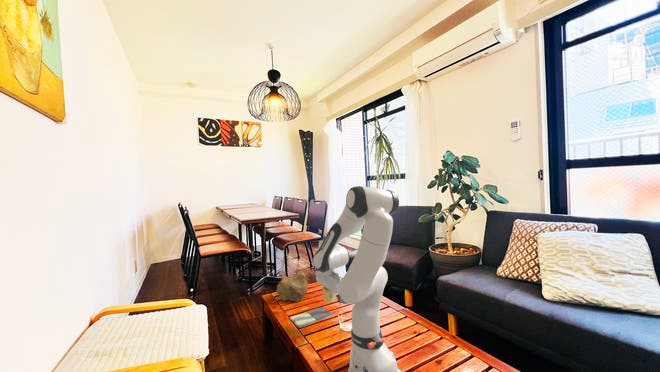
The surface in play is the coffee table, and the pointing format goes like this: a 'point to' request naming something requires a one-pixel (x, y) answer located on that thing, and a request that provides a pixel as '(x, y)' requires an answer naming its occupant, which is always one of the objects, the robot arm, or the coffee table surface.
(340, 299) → the dark grey rock
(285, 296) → the rough brown rock
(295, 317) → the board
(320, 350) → the coffee table surface
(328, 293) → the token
